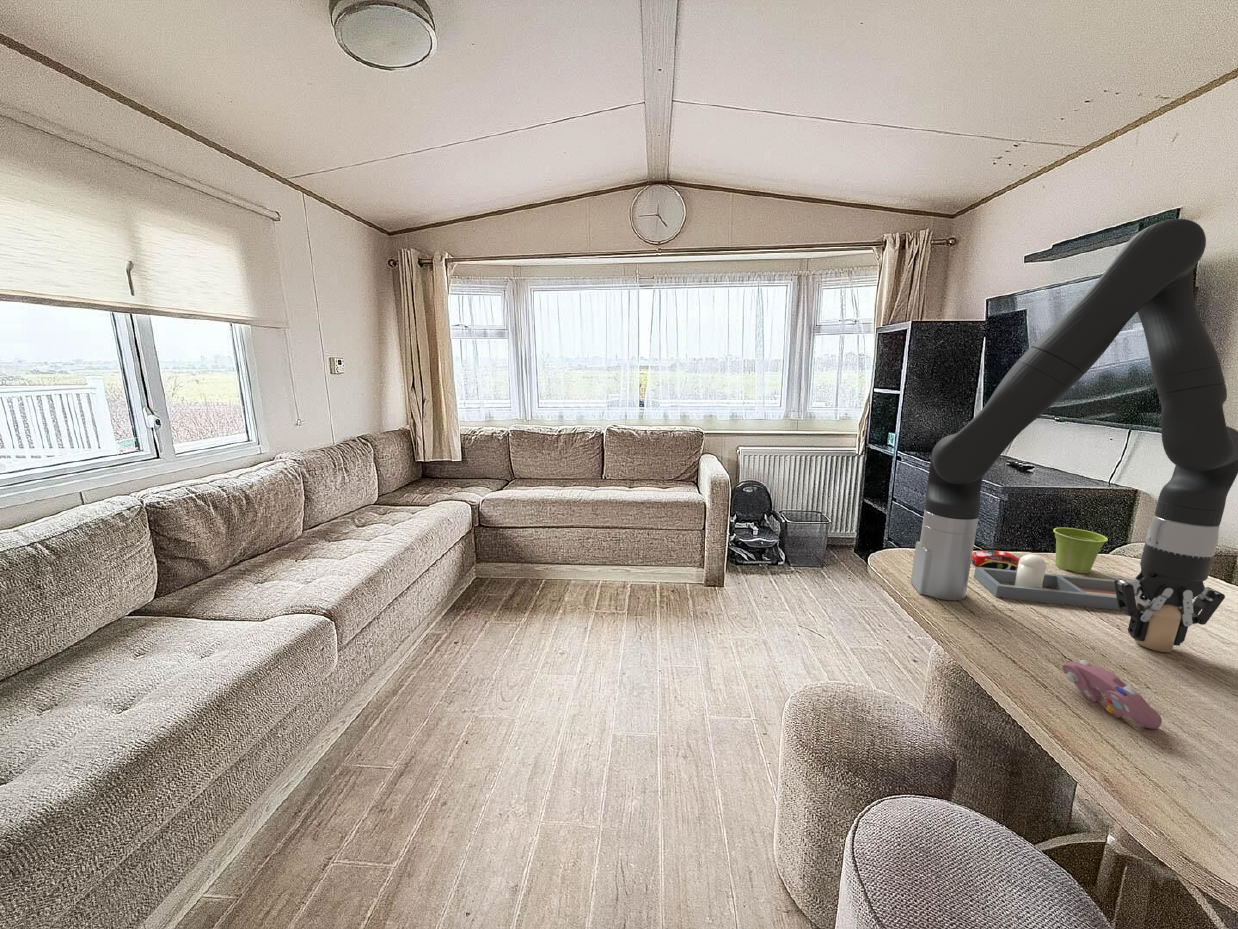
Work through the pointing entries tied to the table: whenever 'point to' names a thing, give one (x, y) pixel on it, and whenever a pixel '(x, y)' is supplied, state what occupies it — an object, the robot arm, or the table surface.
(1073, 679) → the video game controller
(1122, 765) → the table surface
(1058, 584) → the divided rectangular frame
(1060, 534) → the plant pot
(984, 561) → the race car
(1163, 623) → the beige capsule
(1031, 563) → the white capsule
